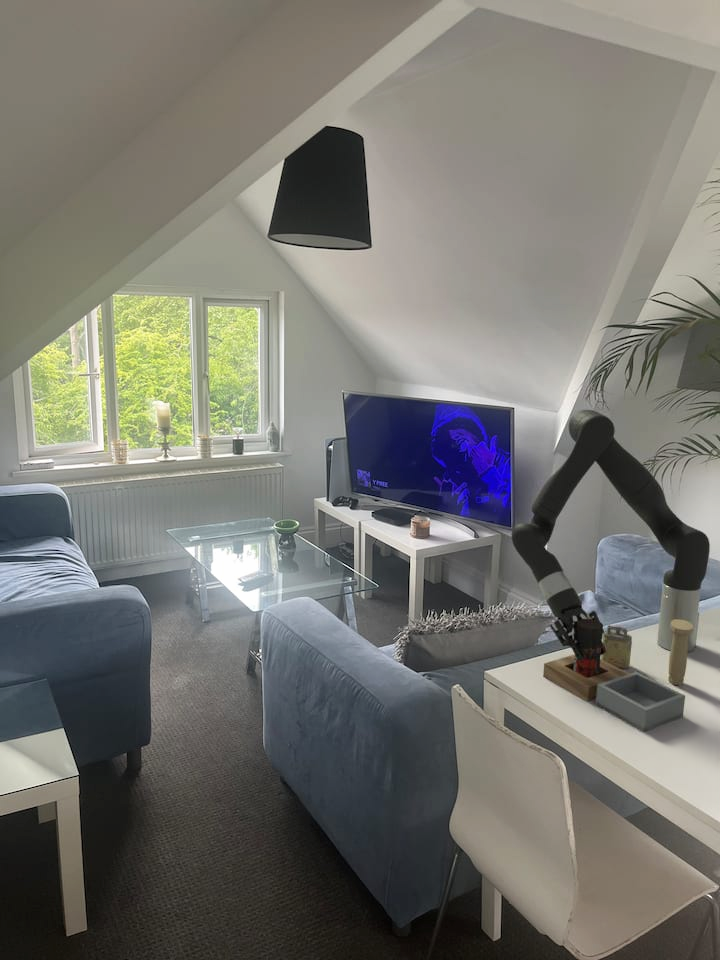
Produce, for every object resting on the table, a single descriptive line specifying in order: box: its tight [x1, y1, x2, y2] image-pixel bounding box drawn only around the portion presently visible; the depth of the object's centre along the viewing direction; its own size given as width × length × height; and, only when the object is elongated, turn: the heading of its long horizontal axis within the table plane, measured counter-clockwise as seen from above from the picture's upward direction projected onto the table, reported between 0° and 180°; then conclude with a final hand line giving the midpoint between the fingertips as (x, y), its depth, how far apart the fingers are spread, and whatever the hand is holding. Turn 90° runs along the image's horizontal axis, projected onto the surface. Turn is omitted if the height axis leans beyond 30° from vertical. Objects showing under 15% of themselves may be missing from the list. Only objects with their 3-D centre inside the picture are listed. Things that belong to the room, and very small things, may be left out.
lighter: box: [600, 625, 633, 669], centre depth 182 cm, size 7×4×10 cm, turn 67°
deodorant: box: [573, 619, 604, 678], centre depth 172 cm, size 6×6×15 cm
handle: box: [668, 619, 693, 686], centre depth 172 cm, size 5×6×15 cm
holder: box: [542, 653, 630, 702], centre depth 173 cm, size 14×14×4 cm
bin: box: [595, 671, 686, 733], centre depth 160 cm, size 13×13×5 cm
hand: (593, 656), depth 171 cm, fingers closed on deodorant, 6 cm apart
